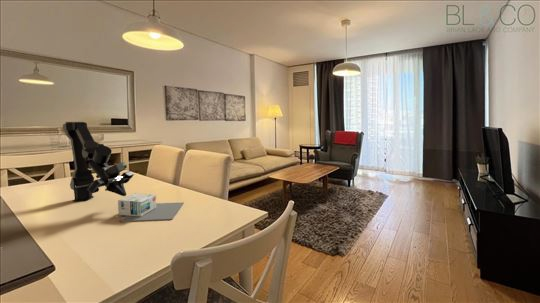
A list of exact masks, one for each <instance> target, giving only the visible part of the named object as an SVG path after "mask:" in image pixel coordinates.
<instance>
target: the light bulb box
mask: <svg viewBox="0 0 540 303" xmlns="http://www.w3.org/2000/svg"><path fill="white" fill-rule="evenodd" d="M156 203H157V194H151V193H150V194H149V193H148V194H147V193H135V192H134V193H133V194H130V195H128V196H127V195H126V196H124V197H122V198H120V199H117V207H118V208H117V212H118V216H126V215H127V216H139V217H142V216H143V215H145V214H147V213H148V212H150V211H152V210H154V209H156Z"/></svg>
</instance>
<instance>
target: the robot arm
mask: <svg viewBox="0 0 540 303" xmlns="http://www.w3.org/2000/svg"><path fill="white" fill-rule="evenodd" d="M62 131H63V132H64V134H65V136H66V138H68V140H70V145H71V153H72V158H73V163H74V170H73V172H72V174H71V180H70V184H69V187H70V189H71V190H72V191H73V193H74V194H73V196H74V199H73V200H72V202H86V201H89V200H91V199H92V198H94V197H95V196H94V195H93V194H95V193H98V192H100V188H102V187H105V189H104V191H105V192H107V191H108V192H110V193H114V194H116V195H119V196H121V197H127V192H126V188H125V185H124V184H127V183H129V181H130V180H131V179H132V178H133V177H134V176H135V174H134V173H133V171H130V170H129V171H126V170H127V168H128V166H127V164H126V163H125V162H124V161H120V162H119V163H117V164H114V165H109V164H108V162H109V160H110V157H111V154H112V149H111V148H110V147H109V146H108V145H107V146H106V145H104V143H99V142H97V141H95V140H94V138H93V136H92V134H91V132H90V130H89V128H88V124H87V122H85V121H65V122H64V123H63V124H62ZM86 160H87V161H88V160H90V161H89V162H88V167H87V162H86ZM92 170H93V172H94V173H95V174H96V175H95V177H96V179H95V177H94V175H93V174H92V173H93V172H92ZM123 171H124V172H123ZM121 172H123V173H121Z"/></svg>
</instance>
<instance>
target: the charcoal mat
mask: <svg viewBox="0 0 540 303" xmlns="http://www.w3.org/2000/svg"><path fill="white" fill-rule="evenodd" d="M184 204H185V202H182V201H181V202H163V203H162V202H156V209H154V210H152V211H150V212H148V213H147V214H145V215H143V216H142V217H139V216H127V215H124V217H123V218H121V219H120V220H119V222H120V223H124V222H125V223H127V222H128V223H131V222H152V221H153V222H154V221H156V222H158V221H173V219H174V218H175V216H176V215H177V214H178V212H180V210H181V208H182V207H183V205H184Z"/></svg>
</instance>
